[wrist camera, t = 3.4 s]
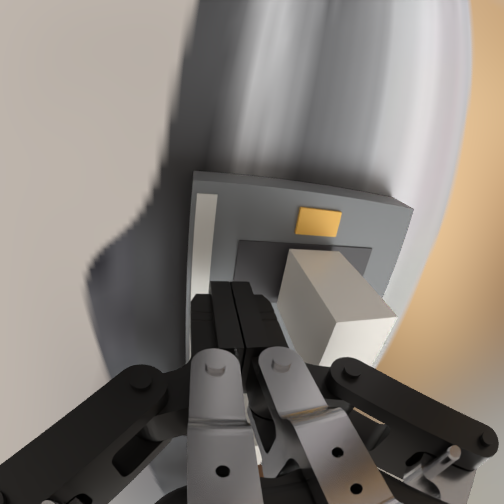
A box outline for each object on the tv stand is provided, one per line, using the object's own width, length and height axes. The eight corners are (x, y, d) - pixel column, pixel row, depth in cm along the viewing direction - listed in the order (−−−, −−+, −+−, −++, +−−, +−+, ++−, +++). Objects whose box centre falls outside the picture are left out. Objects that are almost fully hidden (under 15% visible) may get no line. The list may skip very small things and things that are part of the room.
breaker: (322, 304, 14) (365, 375, 10) (276, 304, 14) (309, 384, 9) (339, 251, 13) (397, 316, 9) (289, 248, 12) (336, 322, 8)
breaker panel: (297, 428, 25) (302, 445, 23) (188, 437, 23) (190, 456, 21) (392, 197, 15) (415, 210, 13) (193, 170, 12) (193, 181, 11)
